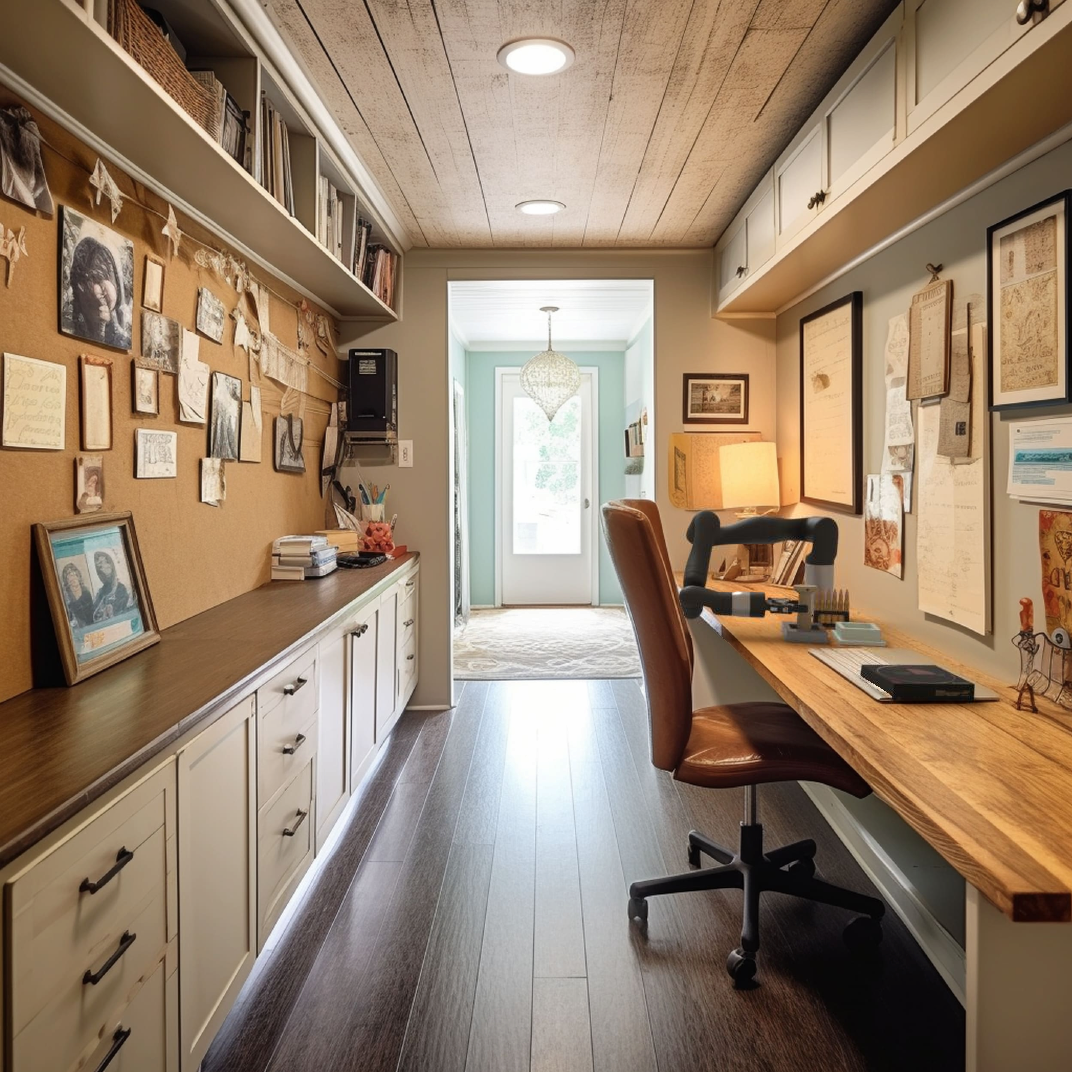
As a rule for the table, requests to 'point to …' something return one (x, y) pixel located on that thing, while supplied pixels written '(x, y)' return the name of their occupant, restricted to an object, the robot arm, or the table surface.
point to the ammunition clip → (828, 615)
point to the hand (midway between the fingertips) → (806, 606)
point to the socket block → (804, 633)
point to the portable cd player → (919, 682)
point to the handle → (804, 599)
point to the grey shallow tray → (858, 634)
